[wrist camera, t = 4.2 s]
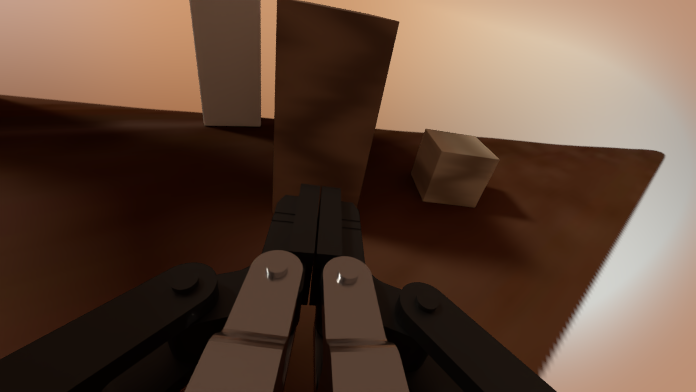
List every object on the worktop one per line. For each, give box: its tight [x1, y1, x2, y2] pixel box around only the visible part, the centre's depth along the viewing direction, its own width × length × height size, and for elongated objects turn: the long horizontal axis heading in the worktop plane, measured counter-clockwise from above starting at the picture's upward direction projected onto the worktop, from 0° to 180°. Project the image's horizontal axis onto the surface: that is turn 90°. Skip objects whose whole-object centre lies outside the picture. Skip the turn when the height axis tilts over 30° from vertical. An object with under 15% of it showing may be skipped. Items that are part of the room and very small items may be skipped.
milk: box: [189, 0, 261, 127], centre depth 28 cm, size 6×6×22 cm
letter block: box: [411, 129, 499, 208], centre depth 26 cm, size 5×5×5 cm
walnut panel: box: [272, 0, 399, 218], centre depth 24 cm, size 6×15×13 cm, turn 2°
